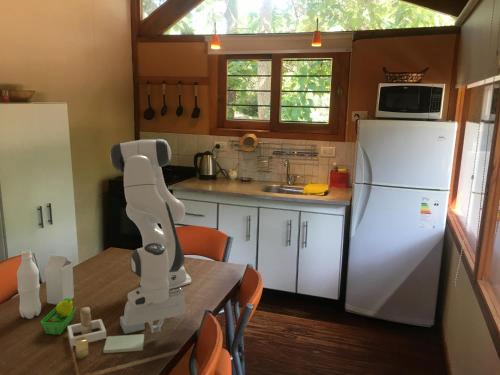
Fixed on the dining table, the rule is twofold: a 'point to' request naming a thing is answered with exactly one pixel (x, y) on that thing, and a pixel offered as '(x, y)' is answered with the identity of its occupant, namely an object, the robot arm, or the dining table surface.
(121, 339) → the plate board
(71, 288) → the milk carton
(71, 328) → the tray
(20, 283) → the water bottle
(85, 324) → the dowel
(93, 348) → the dining table surface
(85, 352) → the cylinder
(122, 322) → the socket block
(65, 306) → the fruit basket
